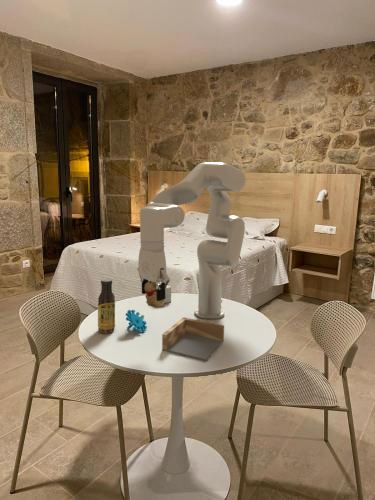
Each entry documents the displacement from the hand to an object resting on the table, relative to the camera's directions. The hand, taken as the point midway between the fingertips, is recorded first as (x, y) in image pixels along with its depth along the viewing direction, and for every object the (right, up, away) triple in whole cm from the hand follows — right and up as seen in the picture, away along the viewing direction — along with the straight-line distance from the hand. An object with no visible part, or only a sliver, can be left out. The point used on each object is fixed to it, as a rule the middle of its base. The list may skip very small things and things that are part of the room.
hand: (153, 296), depth 123 cm
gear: (-8, -15, +17) cm, 24 cm away
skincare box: (0, -8, +47) cm, 47 cm away
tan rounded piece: (0, -3, 0) cm, 3 cm away
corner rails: (+14, -18, +5) cm, 23 cm away
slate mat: (+14, -18, +5) cm, 23 cm away
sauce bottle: (-19, -15, +15) cm, 29 cm away
